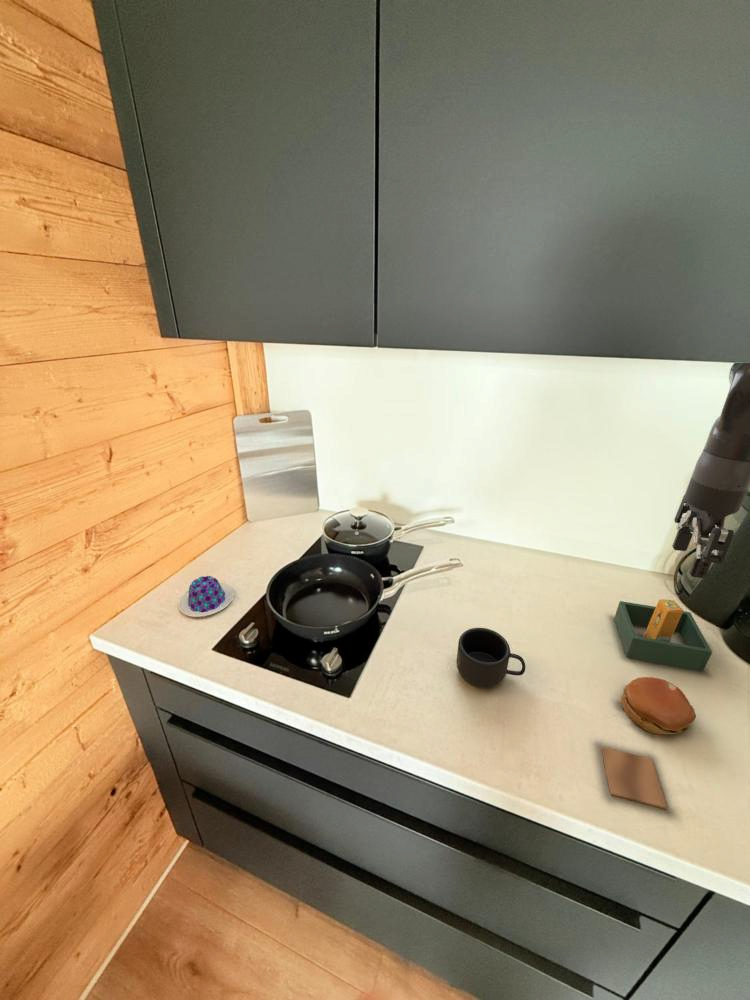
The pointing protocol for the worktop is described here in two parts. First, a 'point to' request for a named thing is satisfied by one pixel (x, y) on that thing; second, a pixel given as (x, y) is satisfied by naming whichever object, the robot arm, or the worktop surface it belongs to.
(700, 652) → the basket
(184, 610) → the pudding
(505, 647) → the mug
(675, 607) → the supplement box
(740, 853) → the worktop surface
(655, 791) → the coaster
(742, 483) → the robot arm
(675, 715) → the burger
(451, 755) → the worktop surface
